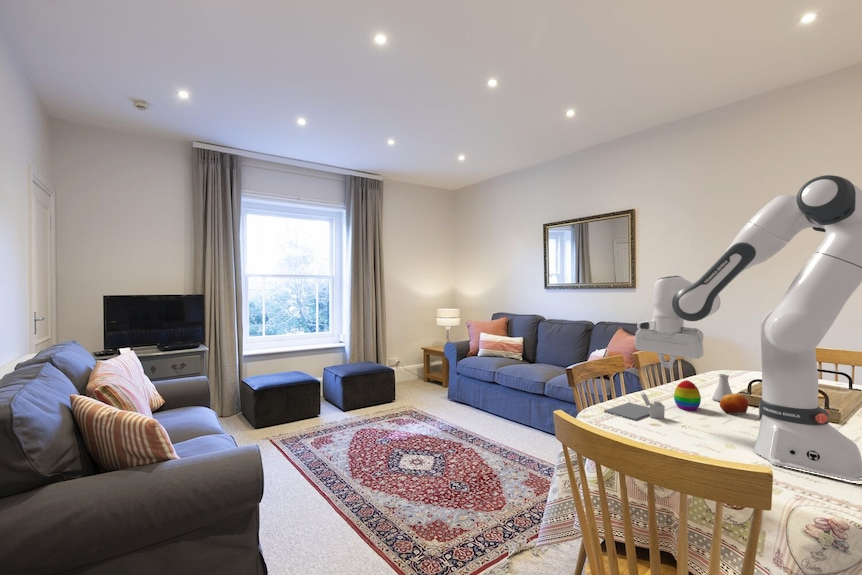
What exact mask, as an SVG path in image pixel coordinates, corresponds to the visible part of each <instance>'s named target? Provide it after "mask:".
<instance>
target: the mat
mask: <svg viewBox="0 0 862 575" xmlns="http://www.w3.org/2000/svg"><path fill="white" fill-rule="evenodd" d="M606 412H608V413H607V414H609V413H612V414H611V415H613V414H616V415H619V416H618V417H620V416H622V417H621V418H624V417H625V418H624V419H627V418H628V420H631V419H632V420H631V421H634V420H636V421H638V420H641V419H643V418H646V417H648V416H649V417H650V406H649V407H648V406H645V405H641V404H637V403H633V402H626V403H624V404H623V403H622V404H619V405H617V406H613V407H611V408H608V409H607V408H606V409H604V413H606ZM616 415H615V416H616Z"/></svg>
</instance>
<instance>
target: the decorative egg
mask: <svg viewBox="0 0 862 575" xmlns="http://www.w3.org/2000/svg"><path fill="white" fill-rule="evenodd" d="M673 392H674V394H673V400H674V402H675V406H676V407H677V408H679V409H680V408H681V410H683V411H696V410H697V409H698V408H699V407H700V406H701V401H702V400H701V399H702V397H701V393H700V391H699V389H698V387H697V386H696V385H695V383H693V382H692V381H691V380H682V381H681V382H679V384H678V385H677V386H676V387H675V389H674V391H673Z"/></svg>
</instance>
